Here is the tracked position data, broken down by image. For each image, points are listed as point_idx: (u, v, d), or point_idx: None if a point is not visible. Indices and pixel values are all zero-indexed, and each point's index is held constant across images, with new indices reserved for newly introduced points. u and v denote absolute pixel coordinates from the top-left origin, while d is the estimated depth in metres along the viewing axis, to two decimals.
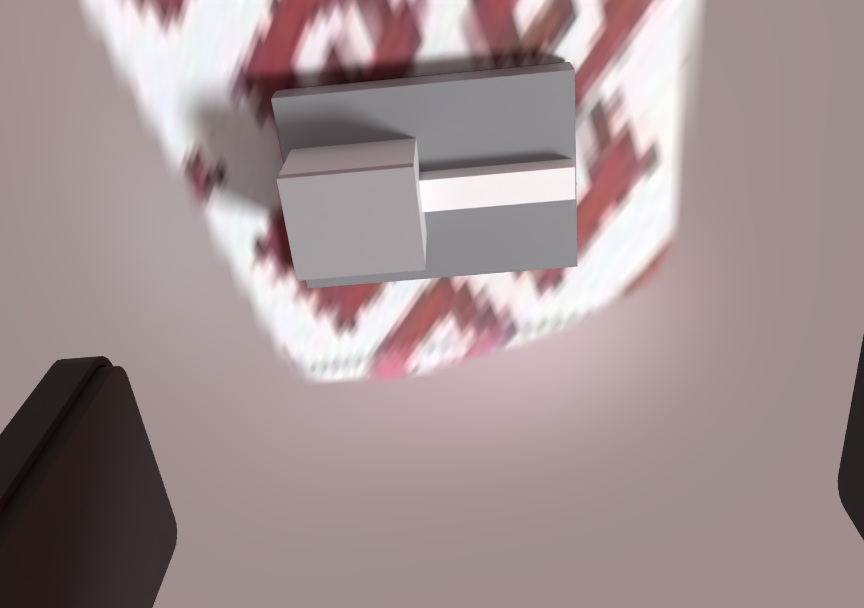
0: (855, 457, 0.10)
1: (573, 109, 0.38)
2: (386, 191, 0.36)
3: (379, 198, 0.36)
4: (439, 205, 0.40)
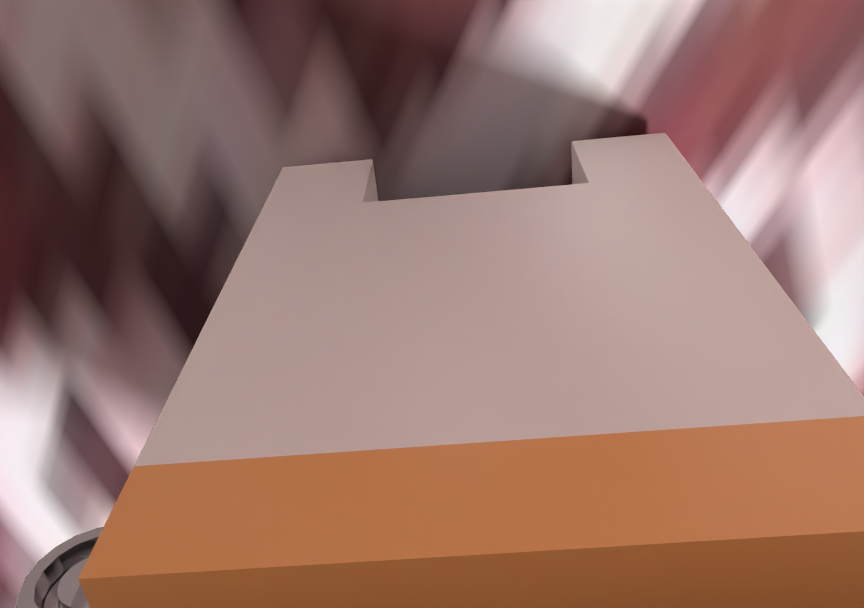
0: None
1: None
2: None
3: None
4: None
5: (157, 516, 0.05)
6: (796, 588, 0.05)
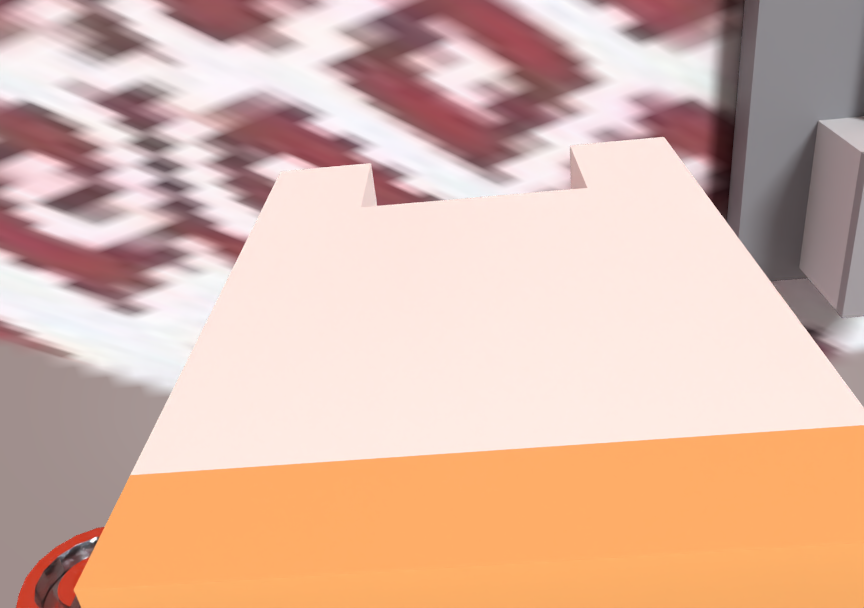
0: None
1: None
2: None
3: None
4: None
5: (153, 525, 0.05)
6: (791, 597, 0.05)
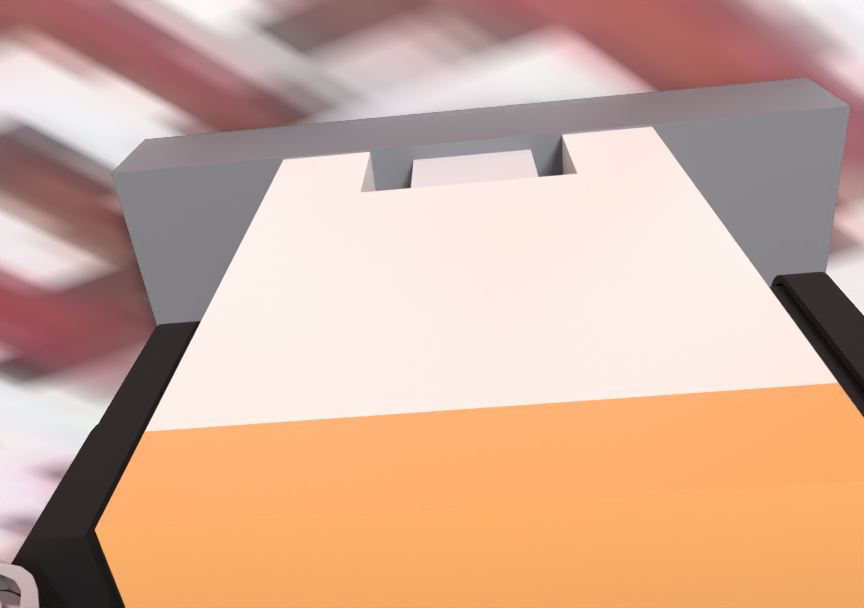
0: None
1: (241, 165, 0.11)
2: None
3: None
4: None
5: (166, 475, 0.06)
6: (757, 538, 0.05)
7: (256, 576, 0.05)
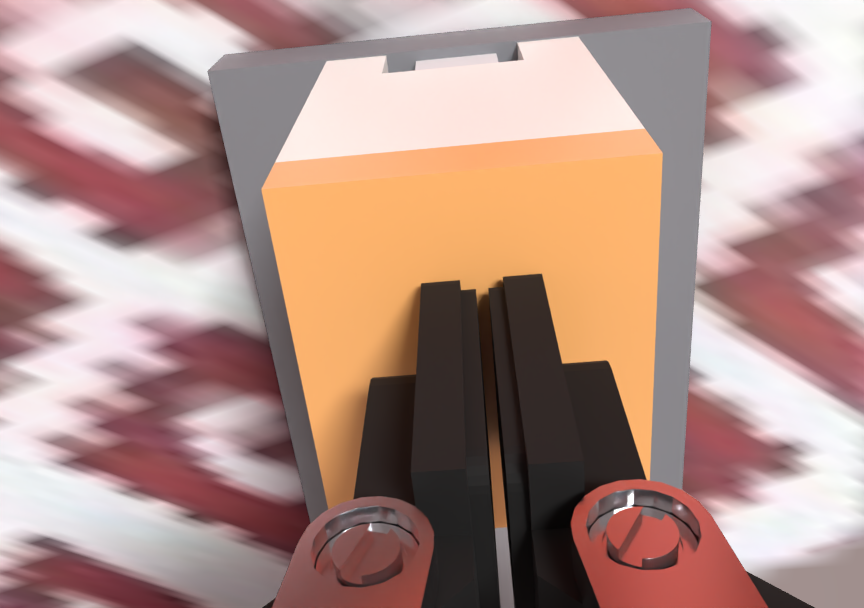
0: (498, 420, 0.12)
1: (298, 65, 0.17)
2: None
3: None
4: None
5: (292, 173, 0.11)
6: (593, 191, 0.10)
7: (341, 219, 0.11)
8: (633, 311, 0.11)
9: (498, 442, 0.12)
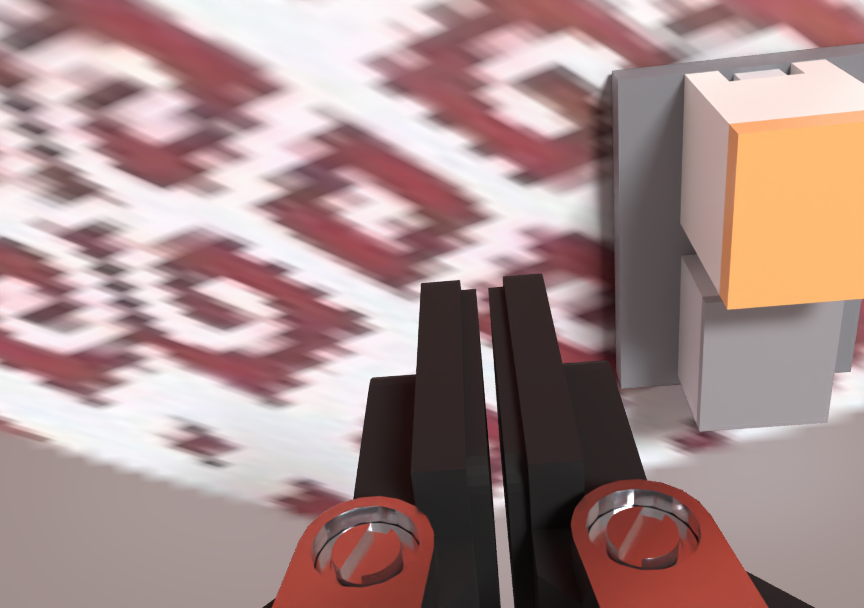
0: (498, 420, 0.12)
1: (668, 77, 0.31)
2: (731, 330, 0.31)
3: (739, 337, 0.31)
4: None
5: (745, 128, 0.25)
6: None
7: (769, 147, 0.25)
8: None
9: (818, 255, 0.26)
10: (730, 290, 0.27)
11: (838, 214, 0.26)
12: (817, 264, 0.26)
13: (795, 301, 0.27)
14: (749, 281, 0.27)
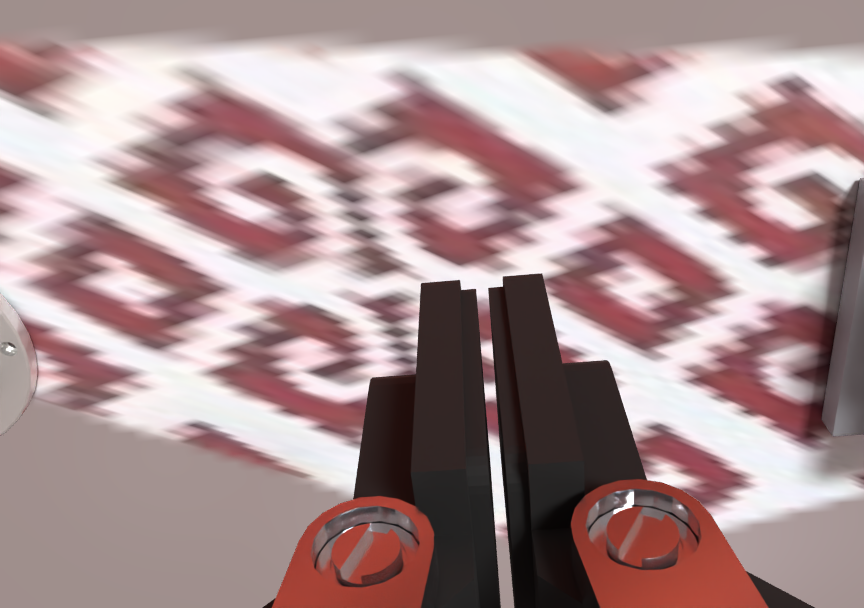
0: (498, 420, 0.12)
1: None
2: None
3: None
4: None
5: None
6: None
7: None
8: None
9: None
10: None
11: None
12: None
13: None
14: None
